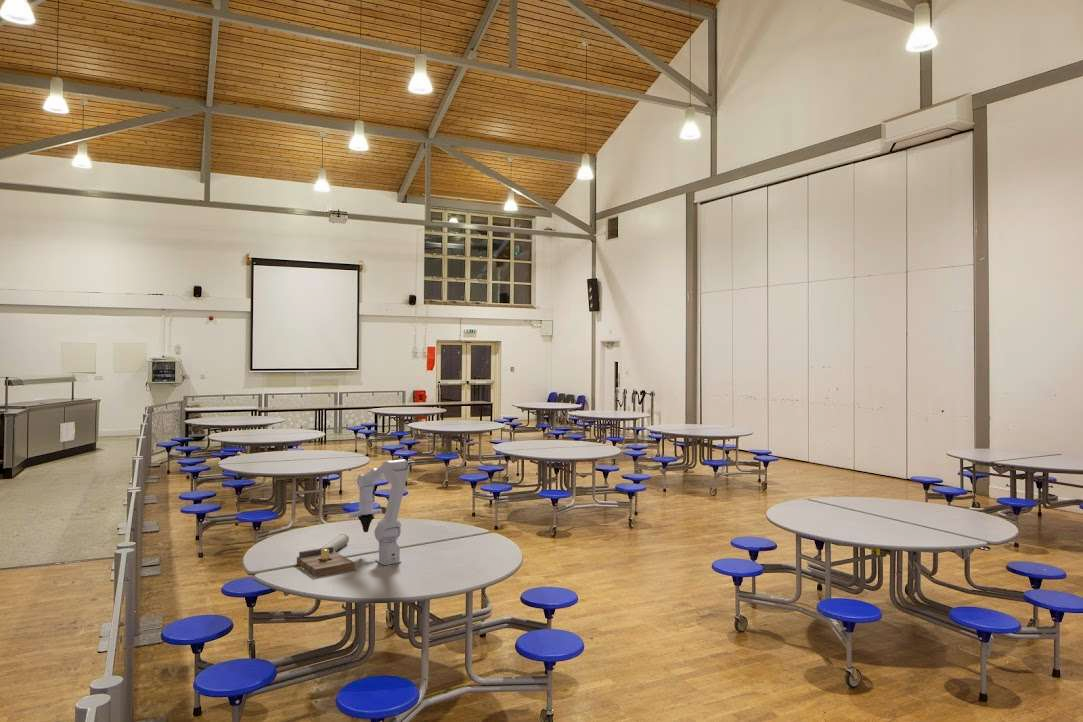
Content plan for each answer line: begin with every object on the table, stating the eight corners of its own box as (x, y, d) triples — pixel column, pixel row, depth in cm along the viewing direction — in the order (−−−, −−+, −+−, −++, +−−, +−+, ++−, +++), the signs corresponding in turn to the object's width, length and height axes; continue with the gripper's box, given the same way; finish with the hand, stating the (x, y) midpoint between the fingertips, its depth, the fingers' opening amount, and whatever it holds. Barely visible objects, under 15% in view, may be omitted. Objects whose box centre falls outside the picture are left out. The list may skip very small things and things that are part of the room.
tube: (329, 550, 287) (350, 535, 312) (317, 546, 287) (340, 532, 312) (325, 562, 287) (346, 546, 312) (313, 558, 287) (336, 542, 312)
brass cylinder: (330, 567, 275) (330, 550, 276) (322, 568, 274) (322, 551, 274) (327, 565, 278) (327, 548, 278) (319, 566, 276) (320, 549, 276)
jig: (354, 569, 272) (354, 557, 272) (315, 577, 262) (315, 564, 262) (334, 557, 289) (334, 546, 289) (296, 564, 279) (296, 552, 279)
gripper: (377, 497, 305) (377, 527, 305) (346, 501, 296) (346, 532, 296) (384, 500, 300) (383, 530, 299) (353, 504, 291) (352, 535, 290)
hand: (365, 531), depth 297 cm, fingers closed
